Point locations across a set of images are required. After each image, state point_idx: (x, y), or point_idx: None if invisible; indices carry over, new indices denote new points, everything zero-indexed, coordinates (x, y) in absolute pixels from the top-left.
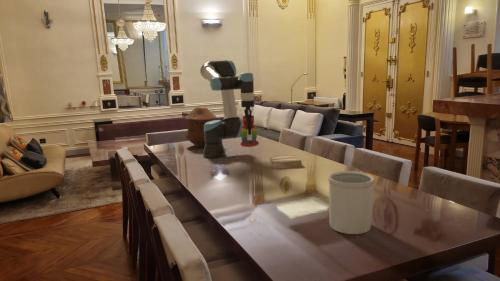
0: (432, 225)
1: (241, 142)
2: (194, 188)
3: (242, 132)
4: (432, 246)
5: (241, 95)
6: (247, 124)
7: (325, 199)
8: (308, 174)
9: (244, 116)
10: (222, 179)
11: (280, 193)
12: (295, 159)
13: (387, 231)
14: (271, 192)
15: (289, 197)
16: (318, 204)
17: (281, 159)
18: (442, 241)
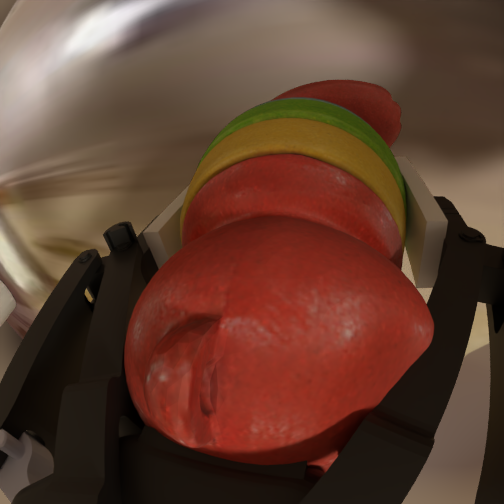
0: None
1: (317, 91)
2: (12, 22)
3: (219, 137)
4: (11, 324)
5: None
6: (58, 284)
7: (40, 295)
8: None
9: (151, 406)
10: (70, 55)
11: (29, 235)
12: None
13: (11, 312)
14: (26, 218)
15: (23, 248)
16: (23, 281)
17: None
18: (20, 333)
